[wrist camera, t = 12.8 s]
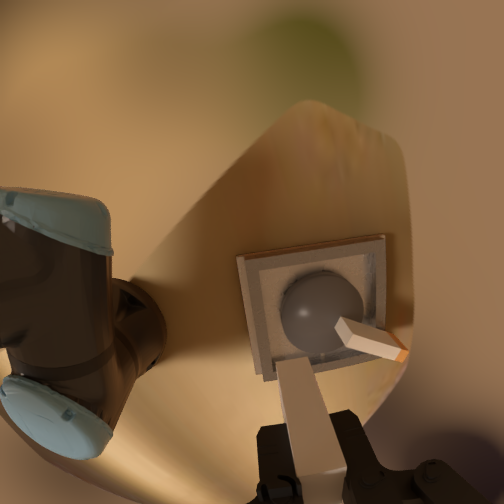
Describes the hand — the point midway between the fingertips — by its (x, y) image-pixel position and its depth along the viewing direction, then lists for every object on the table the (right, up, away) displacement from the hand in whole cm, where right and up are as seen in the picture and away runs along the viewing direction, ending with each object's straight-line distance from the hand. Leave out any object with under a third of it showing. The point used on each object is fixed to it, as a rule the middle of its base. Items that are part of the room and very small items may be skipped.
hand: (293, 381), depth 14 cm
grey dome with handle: (+10, -3, +27) cm, 29 cm away
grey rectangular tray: (+7, -2, +28) cm, 29 cm away
